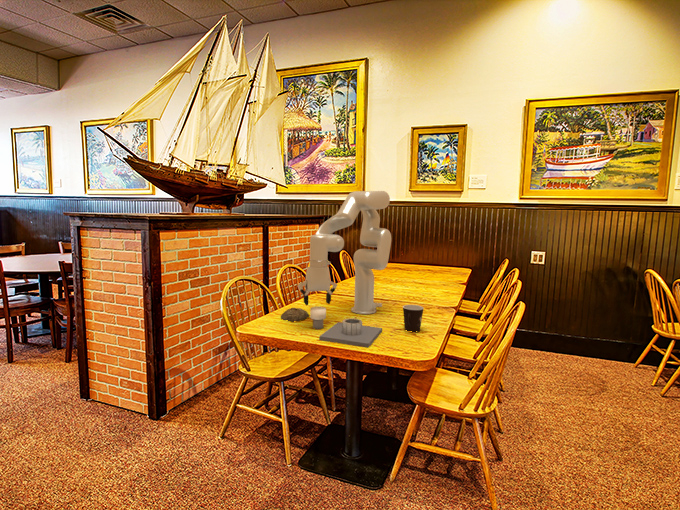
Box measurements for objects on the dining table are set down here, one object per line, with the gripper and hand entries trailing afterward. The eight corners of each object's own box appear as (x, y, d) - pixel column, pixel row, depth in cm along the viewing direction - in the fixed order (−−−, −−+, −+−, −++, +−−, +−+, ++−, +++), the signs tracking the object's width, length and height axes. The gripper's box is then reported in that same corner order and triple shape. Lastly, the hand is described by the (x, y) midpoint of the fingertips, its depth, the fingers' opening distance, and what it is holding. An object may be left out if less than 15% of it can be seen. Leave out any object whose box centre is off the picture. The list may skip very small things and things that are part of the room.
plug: (322, 324, 164) (323, 306, 163) (327, 329, 158) (328, 309, 157) (308, 326, 162) (308, 307, 160) (312, 330, 155) (313, 311, 154)
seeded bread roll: (312, 317, 176) (312, 307, 175) (295, 323, 165) (295, 313, 165) (292, 313, 183) (292, 303, 182) (274, 318, 172) (274, 308, 172)
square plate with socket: (338, 325, 163) (338, 312, 162) (382, 331, 156) (382, 317, 155) (319, 340, 145) (319, 325, 144) (368, 347, 137) (369, 331, 137)
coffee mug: (411, 325, 165) (412, 303, 163) (426, 330, 158) (427, 308, 157) (393, 330, 157) (393, 307, 156) (408, 336, 151) (409, 312, 150)
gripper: (334, 262, 163) (333, 301, 164) (296, 263, 156) (295, 302, 158) (340, 265, 156) (339, 304, 157) (300, 265, 150) (299, 307, 151)
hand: (317, 303), depth 158 cm, fingers open, 9 cm apart
